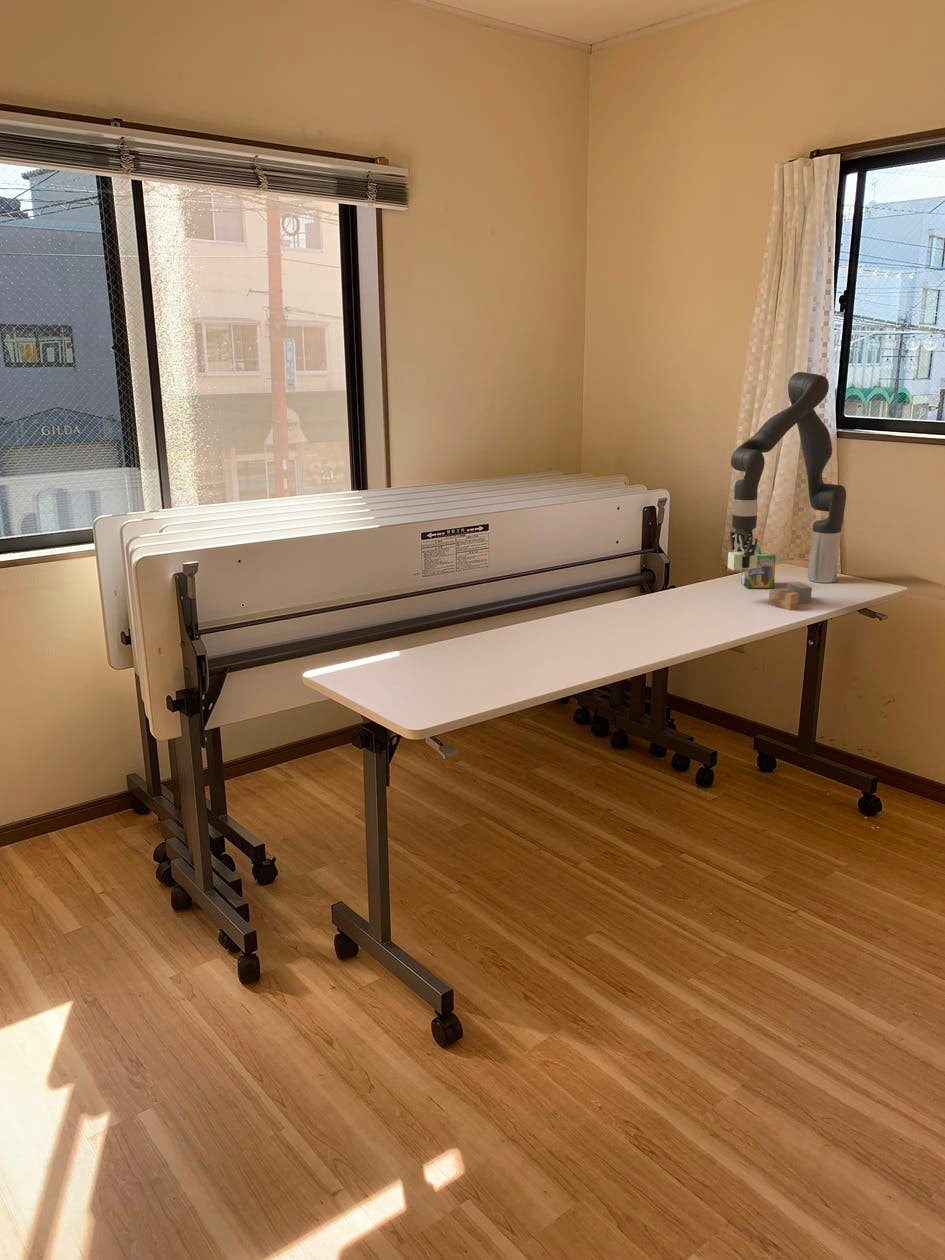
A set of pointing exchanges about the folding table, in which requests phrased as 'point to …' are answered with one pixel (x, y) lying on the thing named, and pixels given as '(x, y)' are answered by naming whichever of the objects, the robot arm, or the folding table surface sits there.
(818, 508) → the robot arm
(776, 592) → the walnut brick
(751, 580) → the chalk box
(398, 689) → the folding table surface
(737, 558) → the sage brick
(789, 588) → the charcoal brick
